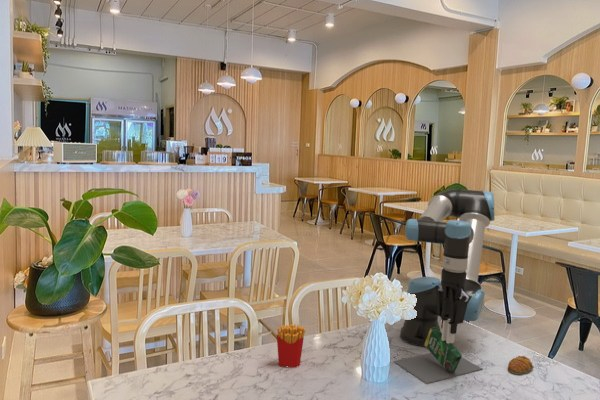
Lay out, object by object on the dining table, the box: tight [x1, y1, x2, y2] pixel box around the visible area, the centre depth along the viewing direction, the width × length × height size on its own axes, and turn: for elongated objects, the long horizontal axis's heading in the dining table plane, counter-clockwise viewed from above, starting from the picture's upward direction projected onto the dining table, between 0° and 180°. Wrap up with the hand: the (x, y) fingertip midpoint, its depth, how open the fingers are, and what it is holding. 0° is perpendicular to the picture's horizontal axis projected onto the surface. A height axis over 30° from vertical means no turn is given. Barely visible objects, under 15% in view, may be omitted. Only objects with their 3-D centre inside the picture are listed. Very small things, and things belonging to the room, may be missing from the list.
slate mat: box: [393, 352, 484, 385], centre depth 157 cm, size 16×24×1 cm, turn 117°
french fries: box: [276, 323, 306, 368], centre depth 153 cm, size 9×4×13 cm, turn 92°
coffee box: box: [424, 327, 463, 373], centre depth 154 cm, size 8×3×13 cm
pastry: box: [507, 355, 534, 376], centre depth 156 cm, size 9×7×4 cm
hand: (447, 341), depth 151 cm, fingers open, 1 cm apart
